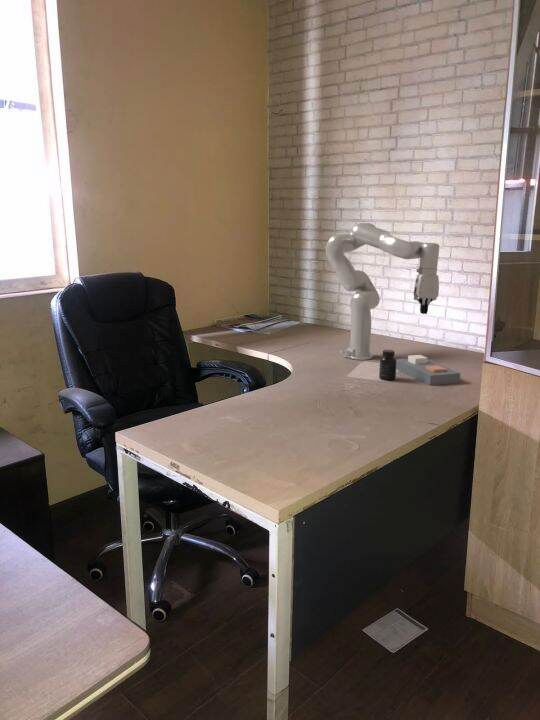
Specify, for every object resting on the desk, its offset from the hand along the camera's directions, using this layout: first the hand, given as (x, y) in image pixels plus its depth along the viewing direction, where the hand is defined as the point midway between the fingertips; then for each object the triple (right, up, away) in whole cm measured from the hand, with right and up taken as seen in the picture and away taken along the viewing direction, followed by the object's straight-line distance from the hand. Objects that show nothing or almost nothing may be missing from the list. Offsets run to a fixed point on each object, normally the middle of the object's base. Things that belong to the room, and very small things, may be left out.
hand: (423, 313), depth 256 cm
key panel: (-1, -27, -9) cm, 28 cm away
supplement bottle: (-19, -29, -15) cm, 38 cm away
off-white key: (-4, -24, -3) cm, 24 cm away
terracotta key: (+1, -29, -15) cm, 32 cm away
